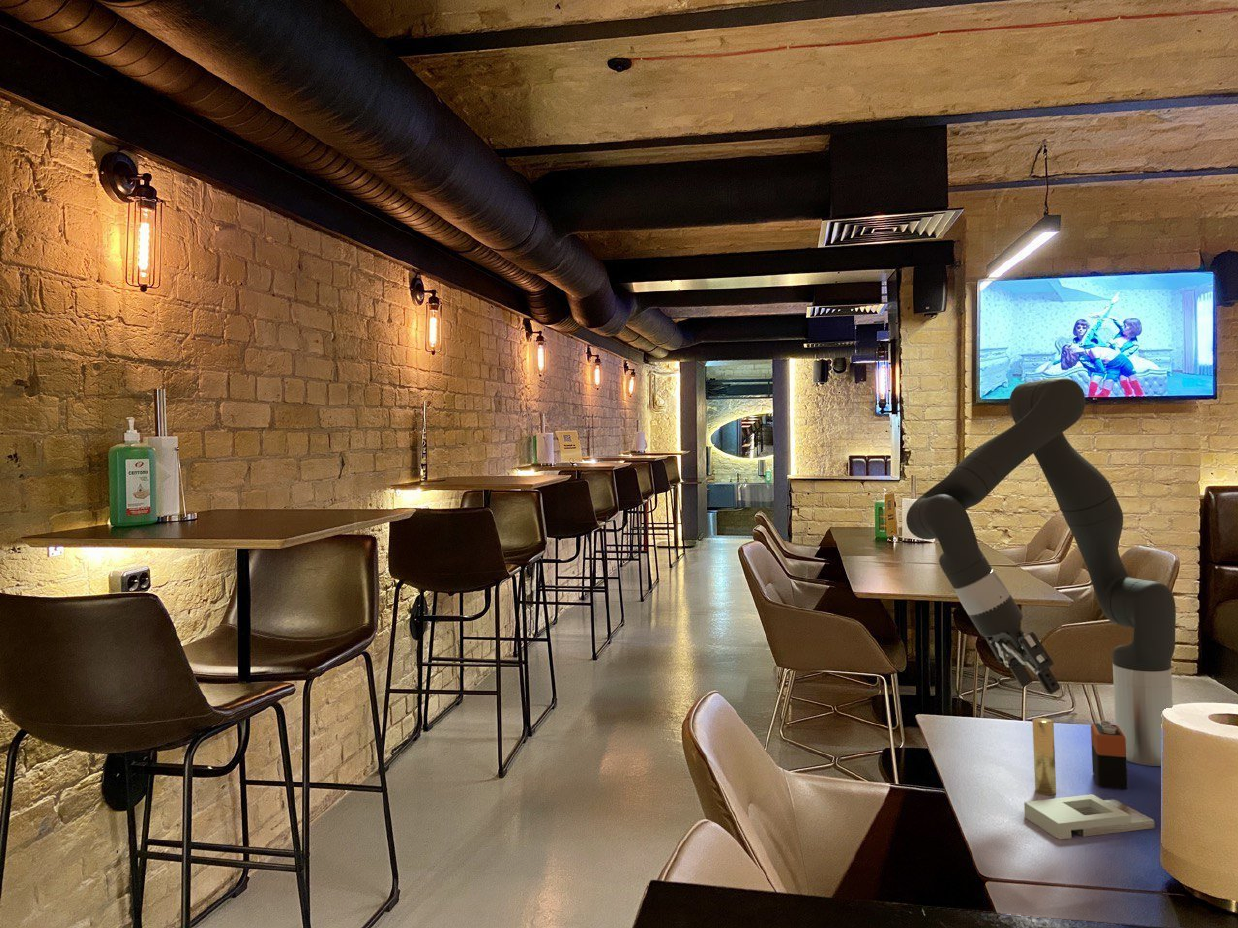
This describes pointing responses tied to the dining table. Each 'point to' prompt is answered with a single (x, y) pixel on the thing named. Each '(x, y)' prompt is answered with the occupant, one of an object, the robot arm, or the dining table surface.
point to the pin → (1044, 756)
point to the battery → (1109, 755)
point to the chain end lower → (1136, 823)
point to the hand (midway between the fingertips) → (1040, 687)
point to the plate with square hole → (1072, 814)
